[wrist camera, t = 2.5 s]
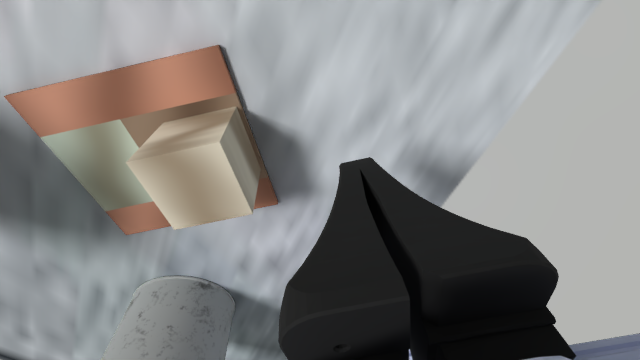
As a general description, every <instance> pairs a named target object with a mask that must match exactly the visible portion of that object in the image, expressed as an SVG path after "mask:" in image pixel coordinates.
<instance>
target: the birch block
mask: <svg viewBox="0 0 640 360" xmlns="http://www.w3.org/2000/svg"><path fill="white" fill-rule="evenodd" d="M126 164H127V165H128V166H129V168H130V169H131V171H132V172H133V173H134V175H135V176H136V178H137V179H138V180H139V182H140V183H141V184H142V186H143V187H144V189H145V190H146V191H147V193H148V194H149V196H150V197H151V198H152V200H153V201H154V202H155V204H156V205H157V207H158V208H159V209H160V211H161V212H162V214H163V215H164V216H165V218H166V219H167V220H168V222H169V223H170V225H171V226H172V227H173V229H174V230H176V229H181V228H186V227H191V226H196V225H201V224H206V223H211V222H216V221H221V220H226V219H231V218H235V217H240V216H245V215H250V214H253V210H254V204H255V199H256V193H257V188H258V182H259V176H260V171H261V168H260V166H259V163H258V161H257V158H256V156H255V153H254V150H253V148H252V145H251V143H250V140H249V138H248V135H247V132H246V130H245V127H244V125H243V122H242V120H241V117H240V115H239V112H238V109H237V107H231V108H227V109H223V110H218V111H214V112H209V113H205V114H200V115H196V116H191V117H187V118H182V119H178V120H174V121H169V122H165V123H163V124H162V125H161V126H160V127H159V128H158V129H157V130H156V131H155V132H154V133H153V134H152V135H151V136H150V137H149V138H148V139H147V141H146V142H145V143H144V144H143V145H142V146H141V147H140V148H139V149H138V150H137V151H136V152H135V153H134V154H133V155H132V156H131V157H130V158H129V160H128V161H127V162H126Z"/></svg>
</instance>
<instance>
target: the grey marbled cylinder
mask: <svg viewBox="0 0 640 360" xmlns="http://www.w3.org/2000/svg"><path fill="white" fill-rule="evenodd" d="M234 312H235V302H234V299H233V298H232V296H231V295H230V294H229V292H227V291H226V290H225V289H224V288H222V287H221V286H219V285H217V284H215V283H213V282H210V281H208V280H205V279H201V278H196V277H191V276H179V275H175V276H164V277H159V278H154V279H152V280H150V281H147V282H145V283H143V284H142V285H141V286H139V287H138V288H137V290H136V291H135V293H134V294H133V298H132V300H131V302H130V304H129V306H128V308H127V310H126V312H125V314H124V316H123V318H122V320H121V322H120V324H119V326H118V328H117V329H116V331H115V333H114V335H113V337H112V339H111V341H110V343H109V345H108V347H107V349H106V351H105V353H104V355H103V357H102V359H101V360H225V356H226V351H227V345H228V340H229V335H230V329H231V324H232V318H233V314H234Z"/></svg>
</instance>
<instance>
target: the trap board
mask: <svg viewBox="0 0 640 360" xmlns="http://www.w3.org/2000/svg"><path fill="white" fill-rule="evenodd" d="M4 97H5V98H6V99H7V100H8V102H9V103H10V104H11V105H12V106H13V107H14V108H15V110H16V111H17V112H18V113H19V114H20V115H21V116H22V118H23V119H24V120H25V121H26V122H27V123H28V124H29V125H30V127H31V128H32V129H33V130H34V131H35V132H36V133H37V135H38V136H39V137H40V138H41V139H42V140H43V141H44V142H45V144H46V145H47V146H48V147H49V148H50V149H51V150H52V152H53V153H54V154H55V155H56V156H57V157H58V158H59V160H60V161H61V162H62V163H63V164H64V165H65V166H66V167H67V169H68V170H69V171H70V172H71V173H72V174H73V175H74V177H75V178H76V179H77V180H78V181H79V182H80V183H81V184H82V186H83V187H84V188H85V189H86V190H87V191H88V192H89V194H90V195H91V196H92V197H93V198H94V199H95V200H96V202H97V203H98V204H99V205H100V206H101V207H102V208H103V209H104V211H105V212H106V213H107V214H108V215H109V216H110V217H111V219H112V220H113V221H114V222H115V223H116V224H117V225H118V226H119V228H120V229H121V230H122V231H123V232H124V233H125V234H126V235H129V234H134V233H139V232H144V231H149V230H154V229H159V228H163V227H168V226H171V225H170V223H169V222H168V220H167V219H166V218H165V216H164V215H163V214H162V212H161V211H160V209H159V208H158V207H157V205H156V204H155V202H154V201H153V200H152V198H151V197H150V196H149V194H148V193H147V191H146V190H145V189H144V187H143V186H142V184H141V183H140V182H139V180H138V179H137V178H136V176H135V175H134V173H133V172H132V171H131V169H130V168H129V166H128V165H127V164H126V162H127V161H128V160H129V158H130V157H131V156H132V155H133V154H134V153H135V152H136V151H137V150H138V149H139V148H140V147H141V146H142V145H143V144H144V143H145V142H146V141H147V139H148V138H149V137H150V136H151V135H152V134H153V133H154V132H155V131H156V130H157V129H158V128H159V127H160V126H161V125H162V124H163V123H165V122H169V121H174V120H178V119H182V118H187V117H191V116H196V115H200V114H205V113H209V112H214V111H218V110H223V109H227V108H231V107H237V109H238V112H239V115H240V117H241V120H242V122H243V125H244V127H245V130H246V132H247V135H248V138H249V140H250V143H251V145H252V148H253V150H254V153H255V156H256V158H257V161H258V163H259V166H260V168H261V171H260V176H259V182H258V188H257V193H256V199H255V204H254V209H256V208H261V207H266V206H271V205H276V204H278V200H277V197H276V195H275V192H274V189H273V187H272V184H271V181H270V179H269V176H268V173H267V171H266V168H265V165H264V163H263V160H262V157H261V155H260V152H259V149H258V147H257V144H256V142H255V139H254V136H253V134H252V131H251V128H250V126H249V123H248V120H247V118H246V115H245V112H244V110H243V107H242V104H241V102H240V99H239V96H238V94H237V91H236V88H235V86H234V83H233V80H232V78H231V75H230V72H229V70H228V67H227V64H226V62H225V59H224V57H223V54H222V51H221V49H220V46H219V45H216V46H212V47H207V48H203V49H199V50H195V51H191V52H186V53H182V54H178V55H174V56H169V57H165V58H161V59H157V60H153V61H148V62H144V63H140V64H136V65H132V66H127V67H123V68H119V69H115V70H110V71H106V72H102V73H98V74H94V75H89V76H85V77H81V78H77V79H72V80H68V81H64V82H60V83H56V84H51V85H47V86H43V87H39V88H35V89H30V90H26V91H22V92H18V93H13V94H9V95H6V96H4Z"/></svg>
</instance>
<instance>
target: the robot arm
mask: <svg viewBox="0 0 640 360" xmlns="http://www.w3.org/2000/svg"><path fill="white" fill-rule="evenodd" d="M339 168H340V177H339V184H338V189H337V194H336V197H335V201H334V204H333V207H332V210H331V213H330V216H329V218H328V220H327V223H326V225H325V227H324V229H323V231H322V233H321V235H320V237H319V239H318V241H317V243H316V244H315V246H314V247H313V249H312V251H311V252H310V254H309V255H308V257H307V258H306V260H305V261H304V263H303V264H302V266H301V267H300V268H299V270H298V271H297V272H296V273H295V275H294V276H293V277H292V279H291V280H290V281H289V282H288V284H287V286H286V289H285V293H284V297H283V301H282V306H281V312H280V319H279V344H280V347H281V349H282V351H283V352H284V354H285V356H286V357H287V359H288V360H640V333H639V334H633V335H627V336H621V337H615V338H609V339H603V340H597V341H592V342H585V343H579V344H574V345H568V344H567V343H566V341H565V340H564V339H563V337H562V336H561V335H560V334H559V332H558V331H557V329H556V328H555V327H554V326H553V324H555V322H556V320H555V317H554V316H553V315H552V314H551V312H550V311H549V310H548V308H547V307H546V305H547V303H548V301H549V299H550V297H551V295H552V293H553V292H554V290H555V288H556V285H557V281H558V277H559V276H558V273H557V269H556V268H555V267H554V266H553V265H552V264H551V263H550V262H549V261H548V260H547V258H546V257H545V256H544V255H543V254H542V253H541V252H540V251H539V250H538V249H537V248H536V247H535V246H534V245H533V244H532V243H531V242H530V241H529V240H528V239H527V238H524V237H521V236H517V235H514V234H510V233H507V232H503V231H500V230H497V229H493V228H490V227H487V226H484V225H481V224H479V223H476V222H473V221H470V220H468V219H465V218H463V217H460V216H458V215H456V214H453V213H451V212H449V211H447V210H444V209H442V208H440V207H438V206H436V205H434V204H432V203H431V202H429V201H427V200H425V199H423V198H422V197H420V196H418V195H417V194H415V193H414V192H412V191H411V190H409V189H408V188H406V187H405V186H404V185H402V184H401V183H400V182H398V181H397V180H396V179H395V178H393V177H392V176H391V175H390V174H388V173H387V172H386V171H385V170H384V169H383V168H382V167H380V166H379V165H378V164H377V163H376V162H375V161H374V160H373V159H372V158H370V157H369V158H365V159H360V160H355V161H350V162H346V163H341V165H340V166H339Z"/></svg>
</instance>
